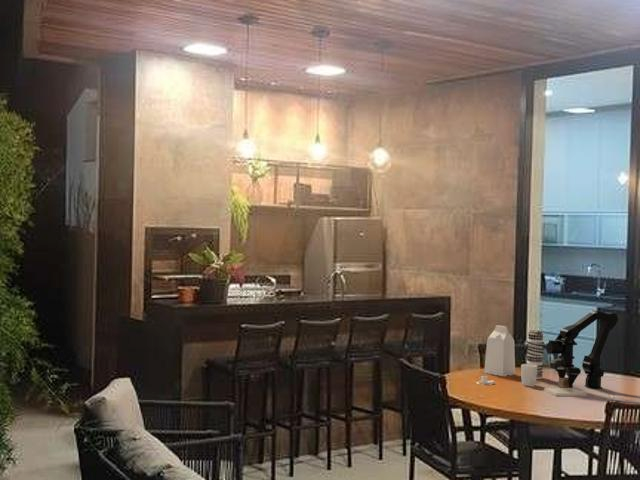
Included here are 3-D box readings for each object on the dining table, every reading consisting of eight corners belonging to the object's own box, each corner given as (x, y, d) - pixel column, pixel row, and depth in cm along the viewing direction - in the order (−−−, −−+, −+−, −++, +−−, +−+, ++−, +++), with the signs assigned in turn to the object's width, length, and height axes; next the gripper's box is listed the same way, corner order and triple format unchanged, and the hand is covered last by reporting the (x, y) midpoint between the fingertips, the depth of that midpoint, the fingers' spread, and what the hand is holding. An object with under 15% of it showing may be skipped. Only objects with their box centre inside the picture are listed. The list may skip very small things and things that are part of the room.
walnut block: (567, 387, 396) (568, 377, 396) (572, 389, 391) (572, 379, 391) (558, 387, 395) (558, 377, 395) (563, 389, 390) (563, 379, 390)
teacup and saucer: (495, 384, 400) (495, 376, 400) (491, 386, 393) (492, 378, 393) (478, 382, 404) (478, 374, 404) (474, 384, 396) (474, 376, 396)
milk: (515, 374, 428) (516, 326, 428) (503, 376, 420) (504, 327, 420) (496, 370, 437) (497, 324, 436) (484, 373, 429) (485, 325, 428)
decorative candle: (540, 379, 414) (542, 332, 413) (523, 377, 418) (524, 330, 418) (545, 377, 421) (547, 330, 421) (528, 375, 426) (529, 329, 426)
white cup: (537, 387, 394) (537, 367, 393) (520, 385, 395) (521, 366, 395) (536, 384, 401) (536, 364, 401) (520, 383, 403) (520, 363, 403)
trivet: (575, 390, 387) (575, 388, 387) (586, 395, 375) (587, 393, 375) (544, 390, 385) (544, 388, 385) (555, 395, 373) (555, 393, 373)
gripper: (543, 350, 401) (542, 381, 401) (560, 356, 382) (559, 388, 382) (564, 351, 402) (563, 381, 403) (581, 357, 384) (580, 388, 384)
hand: (565, 385), depth 393 cm, fingers open, 9 cm apart
